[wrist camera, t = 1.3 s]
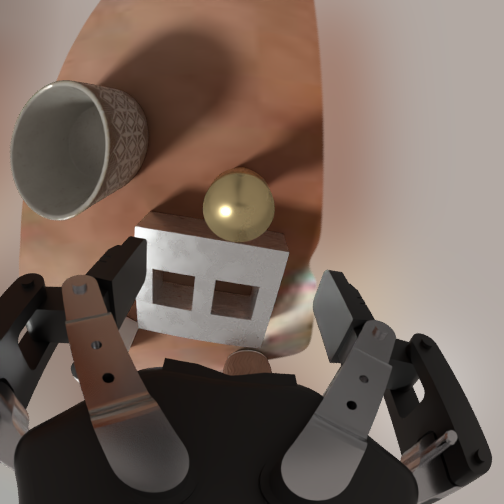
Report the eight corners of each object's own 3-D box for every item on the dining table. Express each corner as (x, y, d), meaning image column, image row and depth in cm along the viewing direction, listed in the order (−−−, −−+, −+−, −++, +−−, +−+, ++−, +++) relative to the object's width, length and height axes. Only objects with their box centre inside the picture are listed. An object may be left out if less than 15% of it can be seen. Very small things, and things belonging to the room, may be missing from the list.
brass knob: (220, 154, 28) (208, 168, 19) (269, 163, 28) (281, 181, 19) (212, 201, 30) (198, 236, 21) (259, 210, 31) (266, 247, 22)
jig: (150, 211, 30) (135, 226, 26) (283, 233, 32) (289, 252, 27) (148, 305, 36) (138, 327, 32) (258, 323, 38) (260, 348, 33)
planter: (173, 118, 26) (137, 115, 16) (121, 209, 30) (78, 245, 21) (93, 74, 22) (40, 63, 13) (52, 162, 27) (-1, 181, 17)
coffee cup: (207, 371, 43) (200, 431, 32) (229, 333, 39) (226, 400, 28) (261, 386, 45) (264, 443, 34) (290, 351, 41) (300, 415, 30)
